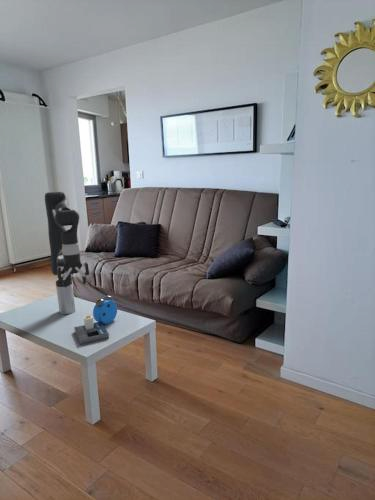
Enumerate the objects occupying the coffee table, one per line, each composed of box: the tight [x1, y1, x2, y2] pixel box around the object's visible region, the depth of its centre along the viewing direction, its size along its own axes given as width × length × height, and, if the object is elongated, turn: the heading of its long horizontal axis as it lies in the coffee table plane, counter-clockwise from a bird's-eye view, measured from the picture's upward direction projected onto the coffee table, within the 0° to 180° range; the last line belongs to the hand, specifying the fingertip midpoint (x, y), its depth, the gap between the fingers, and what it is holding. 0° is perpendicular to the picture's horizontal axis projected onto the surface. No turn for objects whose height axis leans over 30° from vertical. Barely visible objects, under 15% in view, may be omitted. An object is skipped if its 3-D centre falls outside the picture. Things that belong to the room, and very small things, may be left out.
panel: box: [74, 321, 110, 346], centre depth 178 cm, size 17×14×3 cm
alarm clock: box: [92, 295, 118, 325], centre depth 192 cm, size 13×6×15 cm, turn 147°
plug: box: [83, 314, 94, 330], centre depth 181 cm, size 4×4×9 cm
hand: (74, 285), depth 166 cm, fingers open, 8 cm apart
